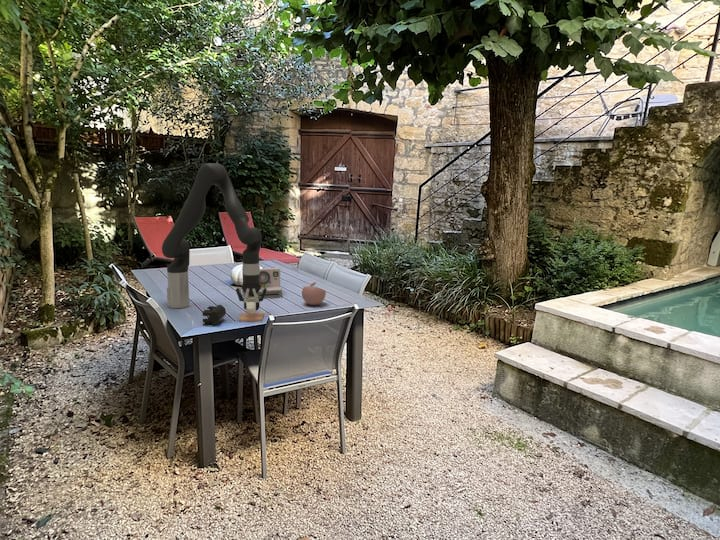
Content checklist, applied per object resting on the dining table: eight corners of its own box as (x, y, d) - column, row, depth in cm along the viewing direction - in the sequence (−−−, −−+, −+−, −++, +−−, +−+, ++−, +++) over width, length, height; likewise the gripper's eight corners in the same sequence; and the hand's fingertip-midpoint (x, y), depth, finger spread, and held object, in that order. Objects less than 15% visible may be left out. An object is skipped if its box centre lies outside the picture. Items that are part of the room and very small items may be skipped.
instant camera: (240, 300, 225) (240, 272, 222) (242, 290, 245) (242, 264, 242) (282, 299, 230) (282, 271, 227) (280, 290, 249) (280, 264, 246)
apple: (328, 302, 226) (328, 281, 224) (321, 309, 214) (321, 286, 212) (306, 300, 228) (306, 279, 226) (298, 306, 217) (298, 284, 215)
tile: (238, 321, 191) (238, 319, 191) (242, 314, 201) (242, 312, 201) (261, 321, 192) (261, 319, 192) (264, 314, 202) (264, 312, 202)
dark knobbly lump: (219, 326, 184) (218, 311, 183) (202, 326, 184) (202, 310, 183) (226, 319, 194) (225, 304, 193) (210, 318, 194) (209, 304, 192)
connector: (248, 308, 200) (248, 297, 199) (257, 308, 201) (257, 297, 200) (245, 315, 189) (244, 304, 188) (254, 315, 190) (254, 304, 189)
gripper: (233, 274, 188) (234, 312, 192) (266, 274, 190) (267, 312, 193) (236, 271, 195) (237, 307, 199) (268, 271, 197) (268, 307, 200)
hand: (251, 309), depth 196 cm, fingers closed on connector, 4 cm apart
